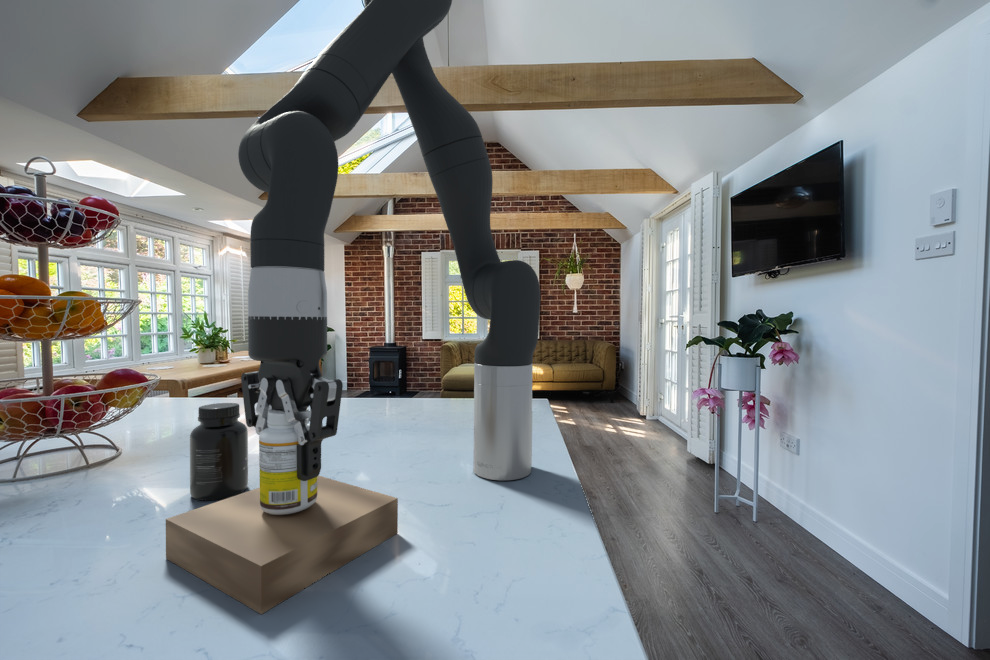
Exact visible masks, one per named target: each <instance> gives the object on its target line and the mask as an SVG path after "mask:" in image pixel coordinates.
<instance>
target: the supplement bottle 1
mask: <svg viewBox="0 0 990 660" xmlns="http://www.w3.org/2000/svg"><path fill="white" fill-rule="evenodd" d="M239 418H241V413H240V403H238V402H237V403H235V402H222V403H211V404H210V403H209V404H205V405H204V404H203V405H202V406H201V405H200V406H199V407H198V417H197V421H198V423H199V422H200V424H199V425H197V426H195V428H193V429H192V431H191V432H190V434H189V491H190V492H189V493H190V496H191V498H193V499H194V500H198V501H214V500H217V501H218V500H224V499H227V498H230V497H233V496H236V495H239V494H242V493H243V492H244V491H245V490H246V489H247V487H248V485H249V435H248V431H249V430H248V426H247V425H246V423H243V422H241V421H239Z"/></svg>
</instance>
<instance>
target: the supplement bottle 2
mask: <svg viewBox="0 0 990 660" xmlns="http://www.w3.org/2000/svg"><path fill="white" fill-rule="evenodd" d="M306 411H310V409H309V407H308V408H307V409H306V410H301V411H299V412H306ZM267 423H268V424H267V426H268V428H266V429H264V430H263V431H262V432H261V433H260V435H258V444H259V445H258V449H259V450H258V452H259V456H258V457H259V458H258V460H259V461H258V462H259V463H258V464H259V488H260V507H261V509H262V510H263V511H264V512H266V513H269V514H274V515H284V514H291V513H296V512H299V511H302V510H305V509H307V508H308V507H310V506H311V505H313V504H314V503H315V501H316V499H317V477H315V478H313V479H310V480H307V481H302V480H299V479H298V478H297V445H298V444H299V443H298V441H297V437H296V433H295V430H294V426H293V425H292V424H290V423H288V421H287V417H286V414H285V411H283V410H282V409H279V410H273V409H271V410H269V411H268V418H267ZM305 426H306V429H307V431H309V427H310V421H309V420H306V421H305Z"/></svg>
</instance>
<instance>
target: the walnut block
mask: <svg viewBox="0 0 990 660" xmlns="http://www.w3.org/2000/svg"><path fill="white" fill-rule="evenodd" d="M398 502H399V498H398V497H395V496H391V495H388V494H384V493H380V492H377V491H373V490H370V489H367V488H365V487H364V488H363V487H361V486H356V485H353V484H349V483H346V482H343V481H338V480H336V479H332V478H329V477H326V476H325V477H324V476H322V475H320V474H319V475H318V476H317V499H316V501H315V503H314V504H313V505H311V506H310V507H308V508H307V509H305V510H302V511H299V512H296V513H291V514H284V515H274V514H269V513H266V512H264V511H263V510H262V509H261V507H260V487H258V488H254V489H251V490H248V491H245V492H241V493H239V494H236V495H234V496H231V497H227V498H223V499H220V500H219V501H218V500H217V501H216V502H212V503H209V504H206V505H203V506H201V507H198V508H194V509H191V510H189V511H186V512H183V513H179V514H176V515H173V516H171V517H167V518H165V559H166V560H168V561H169V562H171V563H173V564H174V565H176V566H178V567H179V568H182V569H183V570H184V571H186V572H188V573H190V574H191V575H194V576H195V577H197V578H198V579H199V580H201V581H204V582H205V583H206V584H209V585H210V586H212V587H214V588H216V589H217V590H218V591H221V592H222V593H224V594H225V595H227V596H229V597H231V598H232V599H235V600H236V601H238V602H240V603H241V604H243V605H245V606H247V607H248V608H249V609H252V610H253V611H255V612H256V613H259V614H260V615H263V614H264V613H266V612H267V611H270V610H271V609H273V608H274V607H276V606H277V604H278V605H279V604H282V602H285V601H286V600H288V599H291V597H292V596H295V595H296V594H298V593H301V591H304V590H305V589H306V588H308V587H310V586H311V585H313V584H314V582H315V583H316V582H318V581H320V580H322V579H323V578H324V576H325V577H327V576H328V575H330V574H332V573H334V572H335V571H336V570H338V569H340V568H342V567H343V566H345V565H346V564H348V563H350V562H352V561H353V560H355V559H357V558H358V557H360V556H362V555H363V554H365V553H367V552H368V551H371V550H372V549H374V548H375V547H378V546H379V545H381V544H382V543H384V542H386V541H387V540H388V539H390V538H392V537H394V536H395V535H397V534H398V532H399V531H398V528H399V527H398V525H399V522H398V520H399V519H398V518H399V517H398V516H399V515H398V514H399V511H398V509H399V503H398ZM329 573H330V574H329ZM327 574H328V575H327ZM326 575H327V576H326ZM322 577H323V578H322ZM321 578H322V579H321ZM317 580H318V581H317ZM312 583H313V584H312ZM304 588H305V589H304Z"/></svg>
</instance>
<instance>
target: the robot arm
mask: <svg viewBox="0 0 990 660" xmlns="http://www.w3.org/2000/svg"><path fill="white" fill-rule="evenodd" d="M363 2H364V3H363V4H364V5H363V6H364V8H363V10H362V11H361V12H360V13H359V14H358V15H357V16H356V17H355V18H354V19H352V21H351V22H350V23H349V24H347V25H346V26H345V27H344V29H342V30H341V32H340V33H338V34H337V36H336V37H334V38H333V39H332V40H331V41H330V42H329V43H328V44H327V46H326V47H325V48H323V49H322V50H321V52H320V53H318V55H317V56H316V58H315V59H313V61H312V63H310V65H309V66H308V67H307V68H306V69H305V71H304V72H303V73H302V74H301V76H300V78H299V79H298V80H297V82H296V83H295V84H294V85H293V86H292V87H291V89H290V90H289V91H288V92H287V93H286V94H284V95H283V97H282V98H280V99H279V100H278V101H277V102H275V103H274V104H273V105H272V106H271V107H270V108H268V110H266V112H264V113H263V114H262V115H261V116H260V117H258V118H257V120H256V121H255V122H253V123H252V124H251V126H249V128H248V129H247V130H246V132H244V135H243V136H242V138H241V140H240V143H239V146H238V153H237V154H238V163H239V166H240V169H241V172H242V174H243V176H244V177H245V179H247V181H248V182H249V183H250V184H251V185H253V186H254V187H255V188H256V189H258V190H260V191H262V192H264V193H266V194H267V200H266V203H265V205H264V206H263V208H262V209H261V210H260V211H258V213H257V214H255V216H254V217H253V219H252V221H251V226H250V235H249V236H250V240H249V241H250V248H249V249H250V251H249V252H250V275H249V281H248V286H247V287H248V289H247V325H248V326H247V327H248V330H247V331H248V332H247V334H248V335H247V336H248V337H247V338H248V339H247V340H248V342H247V345H248V348H247V349H248V350H247V351H248V354H247V355H248V357H249V358H250V359H251V360H253V361H256V362H257V361H260V365H259V369H258V371H249V372H243V373H242V374H241V376H240V377H241V378H240V379H241V389H242V400H243V408H244V417H245V425H246V427H247V428H252V427H254V428H255V434H256V435H258V436H259V435H260V433H261V432H262V431H263V430H264V429H266V428H268V426H267V424H268V423H267V418H268V411H269V410H271V409H273V410H279V409H282V410H283V411H285V414H286V417H287V421H288V423H290V424H292V425H293V426H294V430H295V433H296V437H297V441H298V443H299V444H298V445H297V478H298V479H299V480H302V481H307V480H310V479H313V478H315V477H317V476H318V475H319V476H320V473H321V470H322V442H323V441H324V440H325V439H328V438H332V437H334V436H335V437H336V435H337V433H338V425H339V419H340V411H341V402H342V396H343V395H342V393H343V387H344V385H343V381H342V380H341V379H340V378H338V379H337V378H336V379H327V378H325V377H323V374H322V372H321V368H320V361H321V359H323V358H325V357H326V356H328V292H327V284H326V275H325V232H326V231H325V230H326V227H327V224H328V221H329V217H330V214H331V210H332V204H333V199H334V196H335V192H336V187H337V184H338V183H337V182H338V177H339V176H338V175H339V156H338V150H337V147H336V143H335V142H336V141H338V140H340V139H342V138H344V137H345V136H347V135H348V134H349V133H350V132H351V131H352V130H353V129H354V128H355V127H356V126H357V123H359V121H360V119H361V118H362V117H363V115H364V114H365V113H366V111H367V110H368V109H369V107H370V105H371V104H372V102H373V101H374V99H375V98H376V97H377V95H378V93H379V92H380V90H381V89H382V88H383V86H384V84H385V83H386V81H387V80H388V78H390V77H391V75H392V76H393V77H392V78H393V79H394V81H395V84H396V85H397V89H398V91H399V93H400V95H401V99H402V101H403V104H404V106H405V107H404V108H405V110H406V112H407V115H408V117H409V120H410V123H411V125H412V128H413V130H414V134H415V137H416V138H417V143H418V146H419V149H420V153H421V155H422V158H423V162H424V164H425V167H426V171H427V174H428V176H429V179H430V181H431V184H432V187H433V189H434V191H435V195H436V197H437V200H438V203H439V205H440V209H441V212H442V215H443V218H444V222H445V224H446V227H447V231H448V233H449V235H450V239H451V241H452V245H453V248H454V252H455V256H456V260H457V265H458V269H459V274H460V277H461V283H462V286H463V287H462V288H463V291H464V294H465V296H466V300H467V303H468V304H469V306H470V309H472V311H473V312H474V314H476V315H477V316H479V317H480V318H482V319H485V320H487V321H488V320H489V327H488V328H489V330H488V334H487V336H486V337H485V338H484V339H483V341H480V342H479V343H477V345H476V346H475V348H474V356H473V357H474V360H473V361H474V365H473V367H474V368H473V369H474V370H473V371H474V373H473V376H474V379H473V380H474V382H473V384H474V385H473V386H474V387H473V468H472V469H473V473H474V474H475V475H476V476H478V477H480V478H484V479H487V480H493V481H514V480H515V481H516V480H520V479H524V478H526V477H528V476H529V475H530V474H531V473H532V466H533V465H532V463H533V458H532V457H533V360H534V359H533V358H534V357H533V356H534V352H535V350H536V349H537V344H538V341H539V330H540V312H541V286H540V282H539V281H540V280H539V278H538V275H537V273H536V271H535V269H534V268H533V267H532V266H531V265H530V264H528V262H525V261H523V260H520V259H518V260H517V259H512V260H504V261H503V260H502V261H501V259H500V257H499V254H498V251H497V247H496V245H495V242H494V239H493V234H492V228H491V211H492V210H491V209H492V197H493V184H494V183H493V170H492V165H491V162H490V161H491V160H490V159H489V158H490V157H489V154H488V150H487V148H486V144H485V141H484V138H483V136H482V135H483V134H482V132H481V129H480V127H479V124H478V123H477V121H476V120H475V119H474V117H473V116H472V115H471V113H470V112H469V111H468V110H467V109H466V108H465V107H464V106H463V105H462V104H461V103H460V102H459V101H458V100H457V99H456V98H455V97H454V96H453V95H451V93H450V92H449V91H448V90H447V89H446V88H445V87H444V86H443V85H442V84H441V82H440V80H439V79H438V78H437V76H436V74H435V72H434V70H433V66H432V63H431V62H430V59H429V56H428V53H427V50H426V48H425V42H424V37H426V35H428V34H429V33H430V32H432V31H433V30H434V29H435V28H436V27H437V26H439V25H440V24H441V22H443V21H444V20H445V18H446V17H447V15H448V14H449V11H450V10H451V6H452V2H453V0H363ZM255 405H256V408H255ZM307 408H308V409H309V408H310V409H309V411H306V412H299V411H301V410H306V409H307ZM256 413H257V414H256ZM325 418H326V421H325V422H326V423H325V425H324V424H323V420H324V419H325ZM306 420H309V424H310V427H309V431H307V429H306V426H305V421H306Z"/></svg>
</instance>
